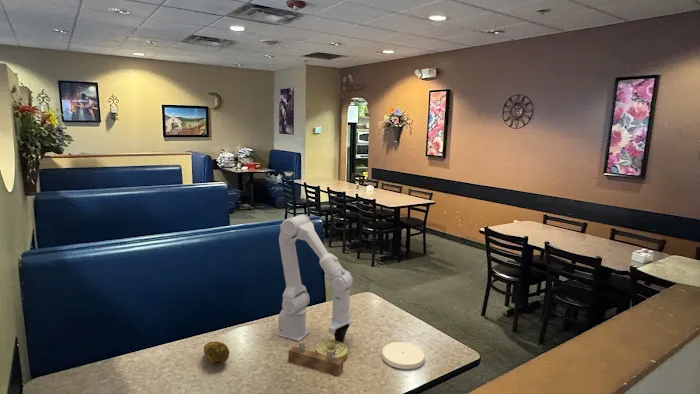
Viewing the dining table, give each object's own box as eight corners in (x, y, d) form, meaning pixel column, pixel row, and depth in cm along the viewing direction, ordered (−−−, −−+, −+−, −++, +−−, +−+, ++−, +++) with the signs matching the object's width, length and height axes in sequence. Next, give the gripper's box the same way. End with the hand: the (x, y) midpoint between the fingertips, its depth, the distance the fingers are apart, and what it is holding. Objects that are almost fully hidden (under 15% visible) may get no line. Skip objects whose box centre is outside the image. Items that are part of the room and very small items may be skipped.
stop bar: (288, 361, 135) (288, 344, 134) (293, 357, 138) (293, 340, 137) (338, 376, 128) (339, 358, 127) (342, 371, 131) (343, 353, 130)
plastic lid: (413, 346, 148) (414, 340, 148) (431, 369, 135) (431, 362, 134) (376, 351, 144) (376, 344, 144) (390, 374, 131) (391, 367, 131)
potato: (231, 350, 140) (231, 328, 139) (228, 372, 128) (228, 348, 127) (205, 352, 139) (204, 330, 137) (200, 375, 126) (199, 350, 125)
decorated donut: (333, 369, 132) (334, 358, 132) (308, 357, 138) (309, 346, 138) (353, 355, 140) (353, 345, 140) (328, 344, 147) (329, 334, 146)
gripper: (343, 318, 135) (341, 356, 137) (359, 301, 148) (357, 337, 150) (323, 313, 137) (322, 351, 140) (341, 297, 151) (340, 332, 153)
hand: (339, 343), depth 145 cm, fingers closed
